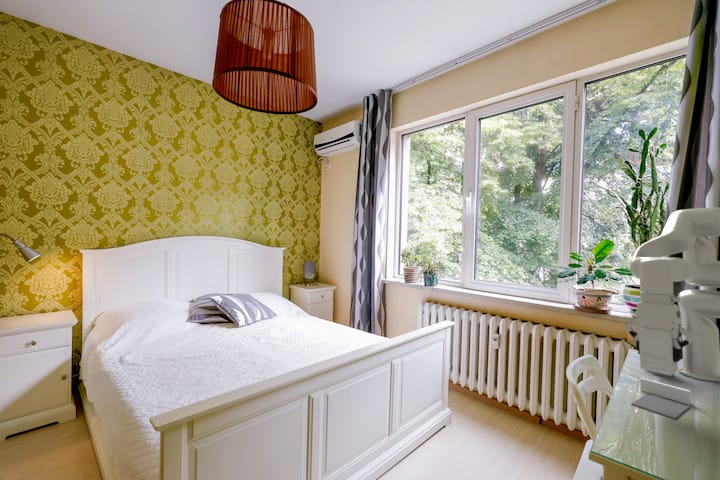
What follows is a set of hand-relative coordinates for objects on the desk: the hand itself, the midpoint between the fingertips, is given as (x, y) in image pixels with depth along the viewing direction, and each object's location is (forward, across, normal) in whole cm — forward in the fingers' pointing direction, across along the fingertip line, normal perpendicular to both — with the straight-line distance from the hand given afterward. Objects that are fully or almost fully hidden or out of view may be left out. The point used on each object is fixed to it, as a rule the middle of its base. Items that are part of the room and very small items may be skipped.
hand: (658, 356), depth 99 cm
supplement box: (+4, 0, 0) cm, 4 cm away
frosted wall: (+15, +2, -9) cm, 18 cm away
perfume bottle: (+15, +10, -33) cm, 38 cm away
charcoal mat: (+15, 0, 0) cm, 15 cm away
